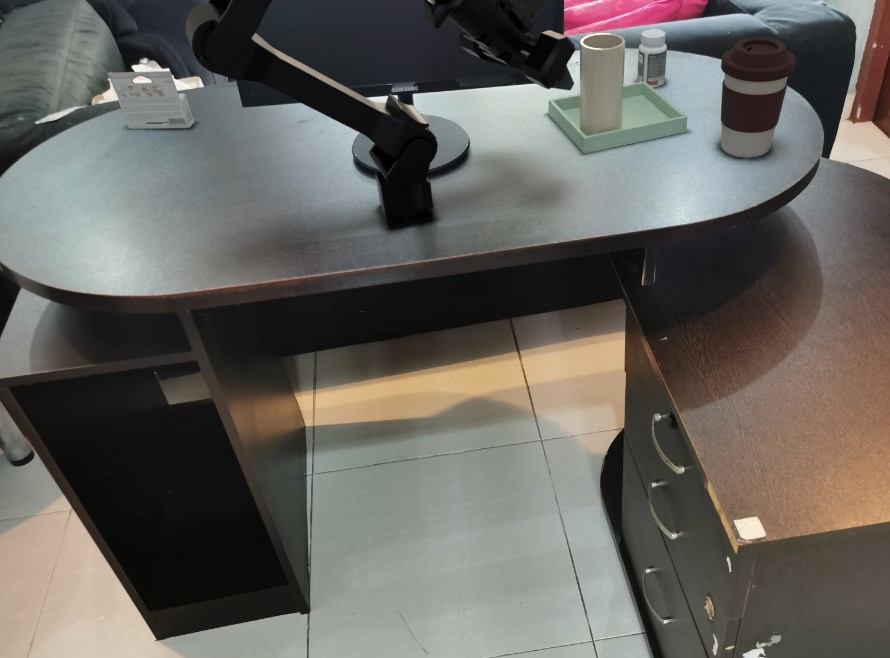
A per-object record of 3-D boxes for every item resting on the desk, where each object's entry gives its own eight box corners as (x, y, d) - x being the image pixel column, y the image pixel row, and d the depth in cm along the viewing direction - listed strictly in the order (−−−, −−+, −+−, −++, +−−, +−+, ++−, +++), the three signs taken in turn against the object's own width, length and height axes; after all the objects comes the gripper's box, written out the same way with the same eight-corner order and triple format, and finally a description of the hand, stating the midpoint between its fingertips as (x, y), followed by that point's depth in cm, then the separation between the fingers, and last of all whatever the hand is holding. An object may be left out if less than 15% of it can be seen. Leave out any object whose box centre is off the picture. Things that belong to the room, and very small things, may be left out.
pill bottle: (669, 80, 144) (672, 30, 138) (657, 90, 141) (660, 39, 136) (644, 75, 146) (647, 26, 140) (632, 85, 143) (634, 35, 138)
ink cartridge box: (134, 123, 143) (112, 66, 136) (195, 122, 142) (176, 65, 135) (128, 130, 141) (105, 72, 134) (190, 129, 140) (171, 71, 133)
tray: (584, 153, 126) (584, 138, 124) (548, 114, 136) (548, 100, 135) (686, 132, 129) (687, 116, 127) (643, 95, 140) (644, 81, 138)
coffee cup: (793, 152, 122) (813, 49, 112) (738, 169, 120) (754, 65, 109) (750, 127, 129) (765, 27, 119) (698, 143, 126) (708, 42, 116)
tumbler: (606, 146, 126) (609, 52, 117) (571, 136, 129) (571, 44, 120) (628, 130, 130) (633, 38, 120) (594, 121, 133) (596, 30, 123)
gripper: (562, -32, 95) (628, 41, 107) (469, -62, 107) (538, 8, 119) (512, 56, 97) (582, 118, 110) (425, 18, 109) (498, 78, 121)
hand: (549, 77), depth 115 cm, fingers open, 9 cm apart
